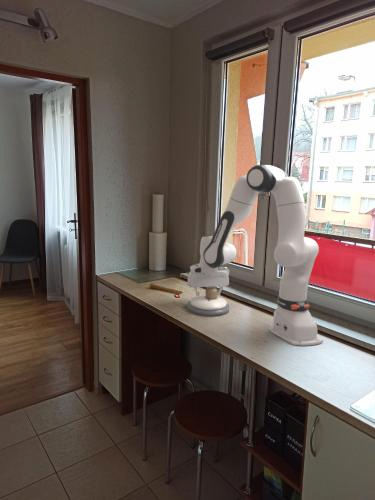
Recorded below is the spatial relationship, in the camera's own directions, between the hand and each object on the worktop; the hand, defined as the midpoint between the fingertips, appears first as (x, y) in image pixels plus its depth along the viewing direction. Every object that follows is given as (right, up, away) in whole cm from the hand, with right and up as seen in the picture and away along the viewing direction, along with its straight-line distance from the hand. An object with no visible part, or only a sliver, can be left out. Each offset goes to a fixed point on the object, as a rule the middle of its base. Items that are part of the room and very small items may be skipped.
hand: (207, 295), depth 181 cm
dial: (0, -4, -4) cm, 6 cm away
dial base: (0, -6, -4) cm, 7 cm away
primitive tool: (-22, -1, +22) cm, 31 cm away
